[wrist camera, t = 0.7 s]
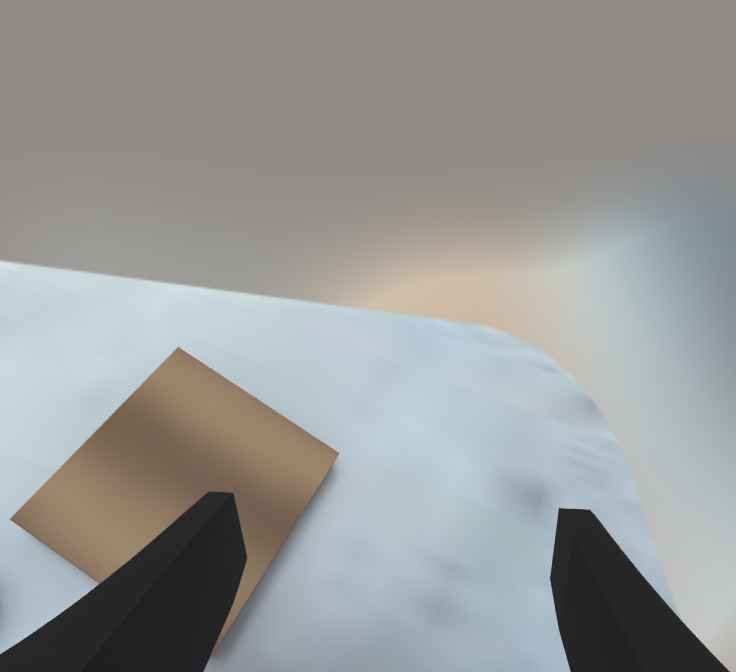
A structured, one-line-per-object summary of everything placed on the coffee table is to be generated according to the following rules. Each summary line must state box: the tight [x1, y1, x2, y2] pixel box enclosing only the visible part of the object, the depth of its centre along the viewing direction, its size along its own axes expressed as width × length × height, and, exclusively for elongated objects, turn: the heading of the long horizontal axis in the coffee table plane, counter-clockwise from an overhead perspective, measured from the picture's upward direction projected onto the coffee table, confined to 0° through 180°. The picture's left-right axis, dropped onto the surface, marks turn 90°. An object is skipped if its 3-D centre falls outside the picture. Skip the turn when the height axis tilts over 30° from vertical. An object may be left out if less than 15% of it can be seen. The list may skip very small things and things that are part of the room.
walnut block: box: [10, 347, 339, 661], centre depth 24 cm, size 10×10×3 cm
